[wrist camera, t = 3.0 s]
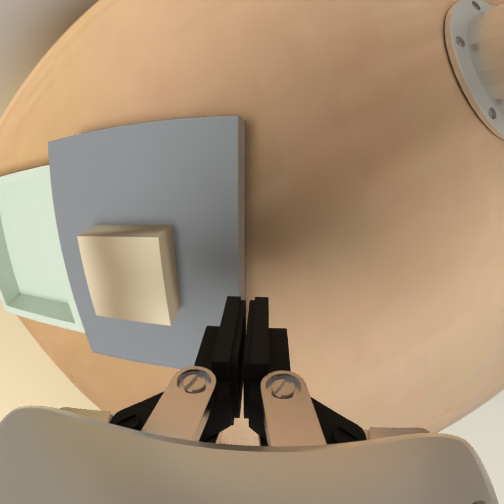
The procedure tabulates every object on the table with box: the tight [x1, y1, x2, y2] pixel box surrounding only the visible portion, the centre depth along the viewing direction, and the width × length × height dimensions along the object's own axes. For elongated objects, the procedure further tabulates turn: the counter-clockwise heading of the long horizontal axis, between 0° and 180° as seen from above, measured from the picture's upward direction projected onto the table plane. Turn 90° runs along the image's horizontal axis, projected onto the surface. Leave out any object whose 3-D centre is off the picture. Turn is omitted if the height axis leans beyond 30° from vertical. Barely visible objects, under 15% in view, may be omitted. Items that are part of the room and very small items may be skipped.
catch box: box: [0, 165, 85, 333], centre depth 18 cm, size 12×13×3 cm
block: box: [77, 225, 181, 326], centre depth 15 cm, size 5×5×2 cm
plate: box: [48, 116, 245, 369], centre depth 17 cm, size 12×16×4 cm
